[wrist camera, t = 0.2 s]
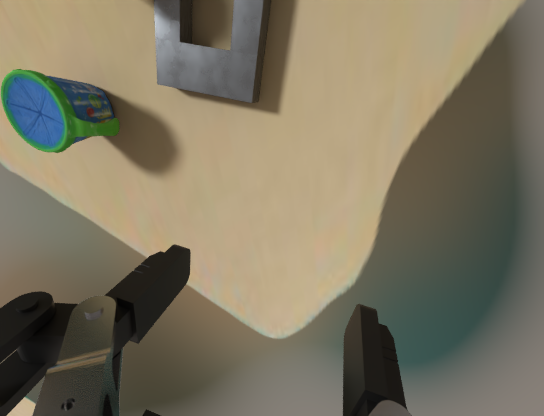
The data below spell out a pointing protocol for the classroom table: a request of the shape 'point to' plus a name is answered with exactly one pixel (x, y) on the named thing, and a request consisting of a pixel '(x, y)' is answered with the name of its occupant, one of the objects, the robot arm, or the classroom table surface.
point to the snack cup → (55, 110)
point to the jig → (212, 51)
